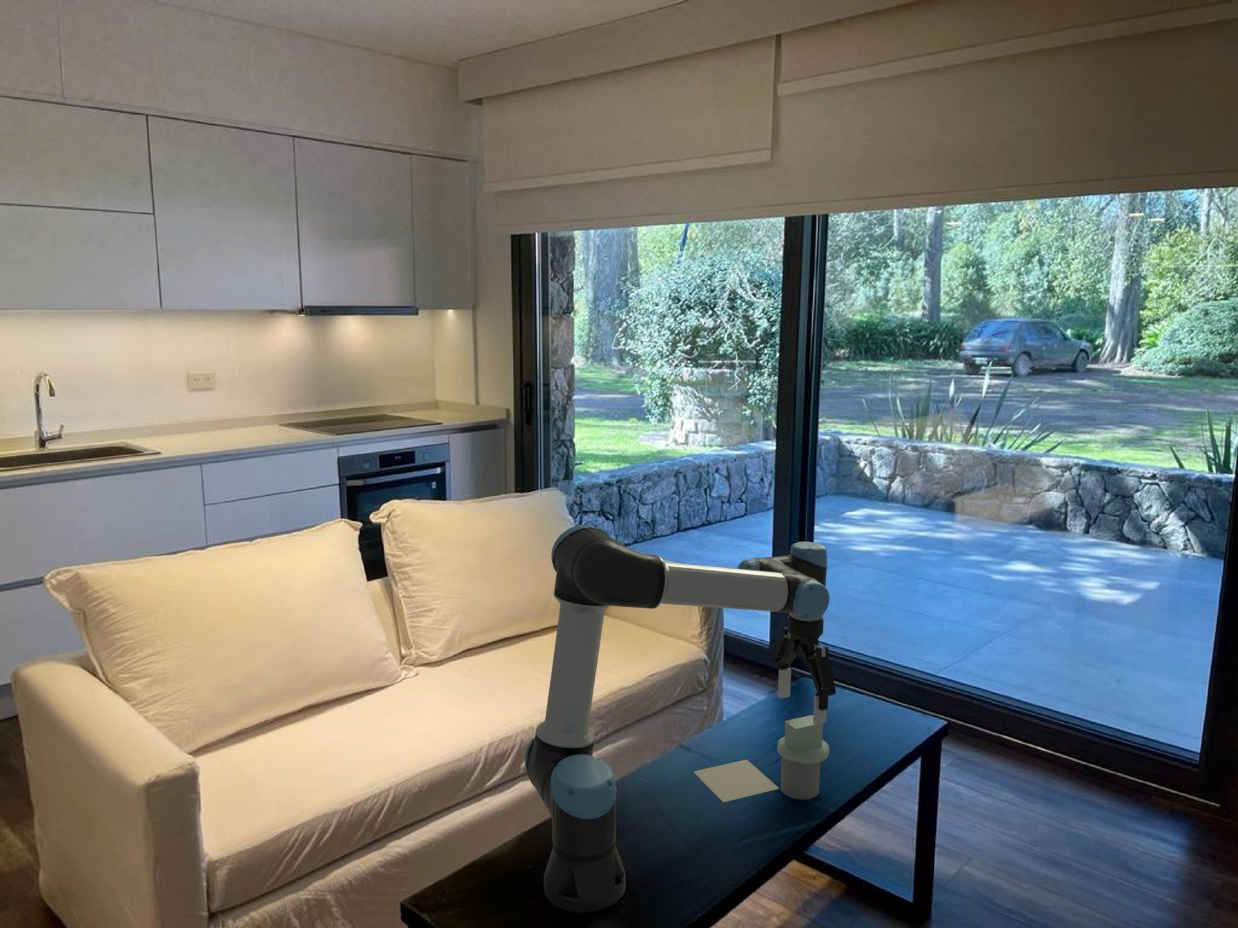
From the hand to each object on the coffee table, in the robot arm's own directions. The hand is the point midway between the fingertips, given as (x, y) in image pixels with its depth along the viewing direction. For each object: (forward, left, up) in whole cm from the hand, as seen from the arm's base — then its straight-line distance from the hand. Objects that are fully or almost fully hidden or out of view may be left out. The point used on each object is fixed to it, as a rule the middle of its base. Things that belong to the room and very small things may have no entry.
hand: (801, 709), depth 200 cm
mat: (-11, +9, -20) cm, 24 cm away
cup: (0, 0, -20) cm, 20 cm away
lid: (+1, 0, -10) cm, 10 cm away
